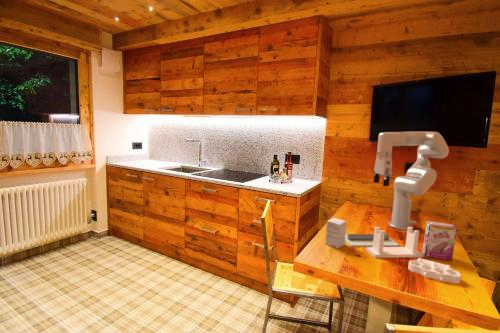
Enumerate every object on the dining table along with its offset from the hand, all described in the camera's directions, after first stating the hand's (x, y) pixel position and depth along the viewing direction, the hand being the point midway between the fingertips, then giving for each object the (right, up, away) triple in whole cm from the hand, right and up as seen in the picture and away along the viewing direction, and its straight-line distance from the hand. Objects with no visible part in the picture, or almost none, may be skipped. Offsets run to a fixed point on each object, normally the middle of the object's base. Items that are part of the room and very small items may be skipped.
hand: (380, 184), depth 155 cm
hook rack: (-5, -32, -24) cm, 40 cm away
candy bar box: (+14, -33, -26) cm, 44 cm away
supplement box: (-31, -30, -15) cm, 46 cm away
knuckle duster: (+2, -35, -41) cm, 54 cm away
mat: (-12, -30, -10) cm, 33 cm away
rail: (-12, -29, -10) cm, 33 cm away
